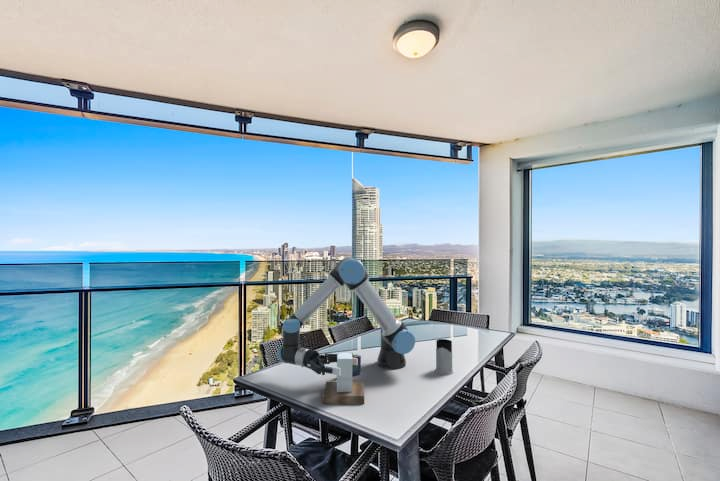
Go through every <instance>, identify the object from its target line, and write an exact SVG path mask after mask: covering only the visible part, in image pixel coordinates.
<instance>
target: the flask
mask: <svg viewBox="0 0 720 481" xmlns="http://www.w3.org/2000/svg"><path fill="white" fill-rule="evenodd" d="M351 353H352V358H358V365H353V366H352V378H353V377H357V376H361V372H362V370H361V366H362V364H361V363H362V359H361V358H362V356H361V355H359V354H354V353H353V352H351Z"/></svg>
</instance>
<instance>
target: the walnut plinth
mask: <svg viewBox="0 0 720 481" xmlns="http://www.w3.org/2000/svg"><path fill="white" fill-rule="evenodd" d="M364 386H365V385H364V381H352V392H337V381H325V386H324V390H323V395H322V405H364V404H365V387H364Z"/></svg>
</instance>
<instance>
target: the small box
mask: <svg viewBox="0 0 720 481" xmlns="http://www.w3.org/2000/svg"><path fill="white" fill-rule="evenodd" d="M352 353H353V352H343V353H342V352H338V353H336V354H337V362H336V367H337V368H341V375H340V376H337V375H336V382H337V392H352V382H353V377H352V366H353V358H352Z"/></svg>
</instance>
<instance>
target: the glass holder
mask: <svg viewBox="0 0 720 481" xmlns="http://www.w3.org/2000/svg"><path fill="white" fill-rule="evenodd" d="M435 343H436V346H435V347H436V349H435V353H436V354H435V355H436V356H435V360H436V361H435V363H436V364H435V372H436V373H438V374H439V375H446V376H447V375H449V376H450V375H453V373H454V370H453V345H452V344H453V342H452V340H450V339H445V338H443V339H441V338H440V339H436V342H435Z"/></svg>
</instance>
